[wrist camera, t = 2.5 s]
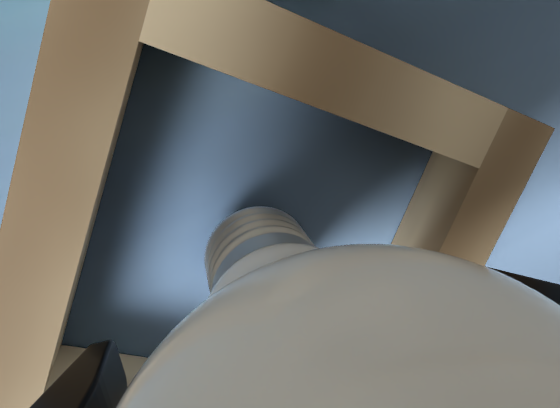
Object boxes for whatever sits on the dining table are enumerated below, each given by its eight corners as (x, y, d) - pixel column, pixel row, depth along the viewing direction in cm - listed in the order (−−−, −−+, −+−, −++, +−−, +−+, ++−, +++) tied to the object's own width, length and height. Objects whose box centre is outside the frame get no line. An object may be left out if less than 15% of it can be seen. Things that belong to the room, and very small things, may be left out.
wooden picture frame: (498, 116, 13) (554, 128, 11) (349, 426, 15) (375, 478, 13) (89, -60, 9) (70, -87, 7) (-14, 383, 12) (-48, 446, 10)
